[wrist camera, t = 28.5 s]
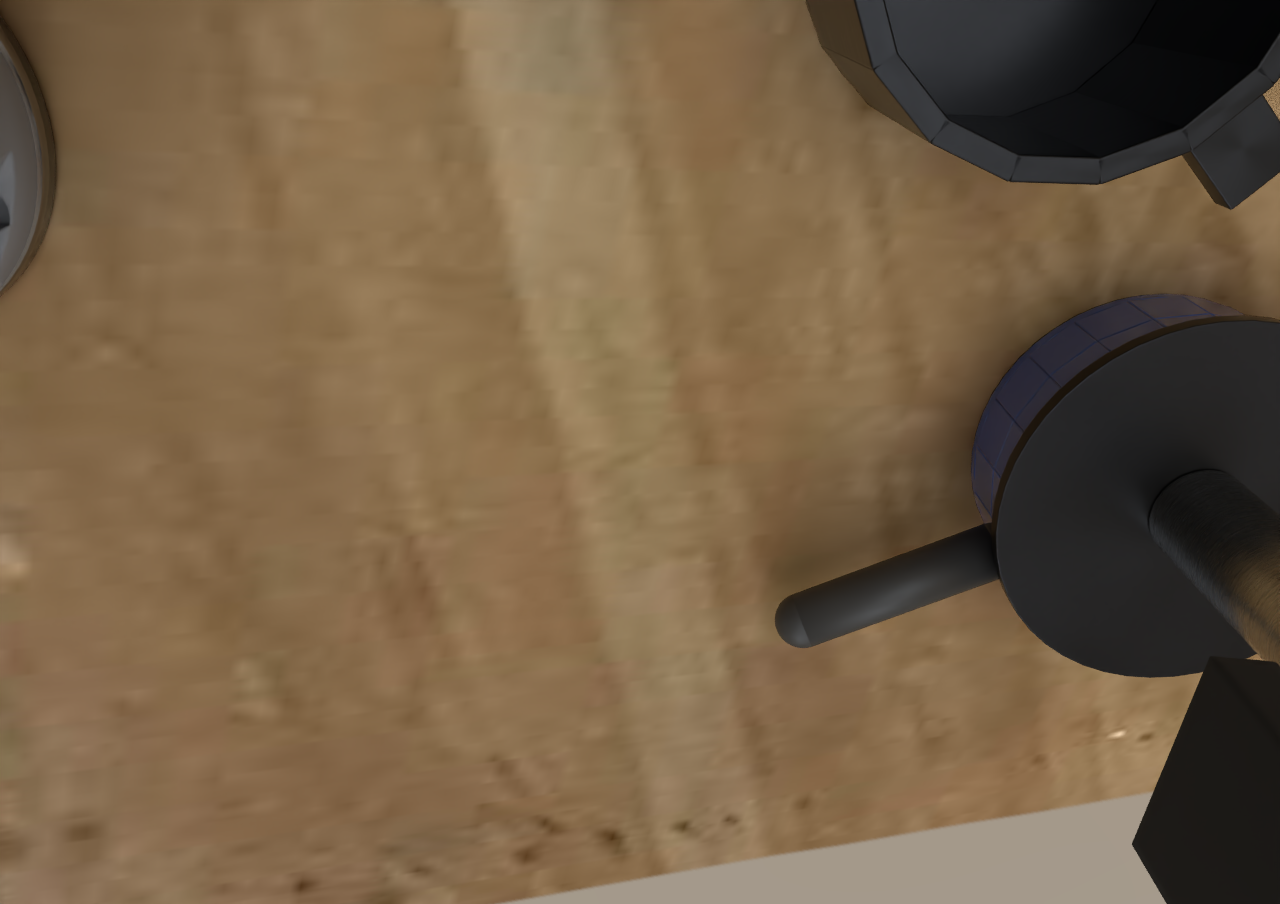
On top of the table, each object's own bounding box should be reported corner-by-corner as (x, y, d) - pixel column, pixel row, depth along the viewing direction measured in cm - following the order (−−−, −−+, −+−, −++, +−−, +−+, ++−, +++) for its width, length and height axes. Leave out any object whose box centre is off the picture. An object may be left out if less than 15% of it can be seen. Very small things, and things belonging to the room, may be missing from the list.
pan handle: (781, 634, 46) (790, 666, 44) (763, 593, 45) (771, 624, 43) (1018, 548, 44) (1038, 577, 42) (1004, 504, 43) (1024, 531, 41)
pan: (1015, 624, 49) (1057, 695, 44) (932, 370, 43) (970, 420, 39) (1313, 519, 47) (1389, 581, 42) (1264, 240, 42) (1345, 277, 37)
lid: (1119, 720, 46) (1259, 931, 36) (907, 492, 41) (1003, 665, 31) (1449, 502, 42) (1706, 673, 32) (1258, 221, 37) (1493, 322, 27)
